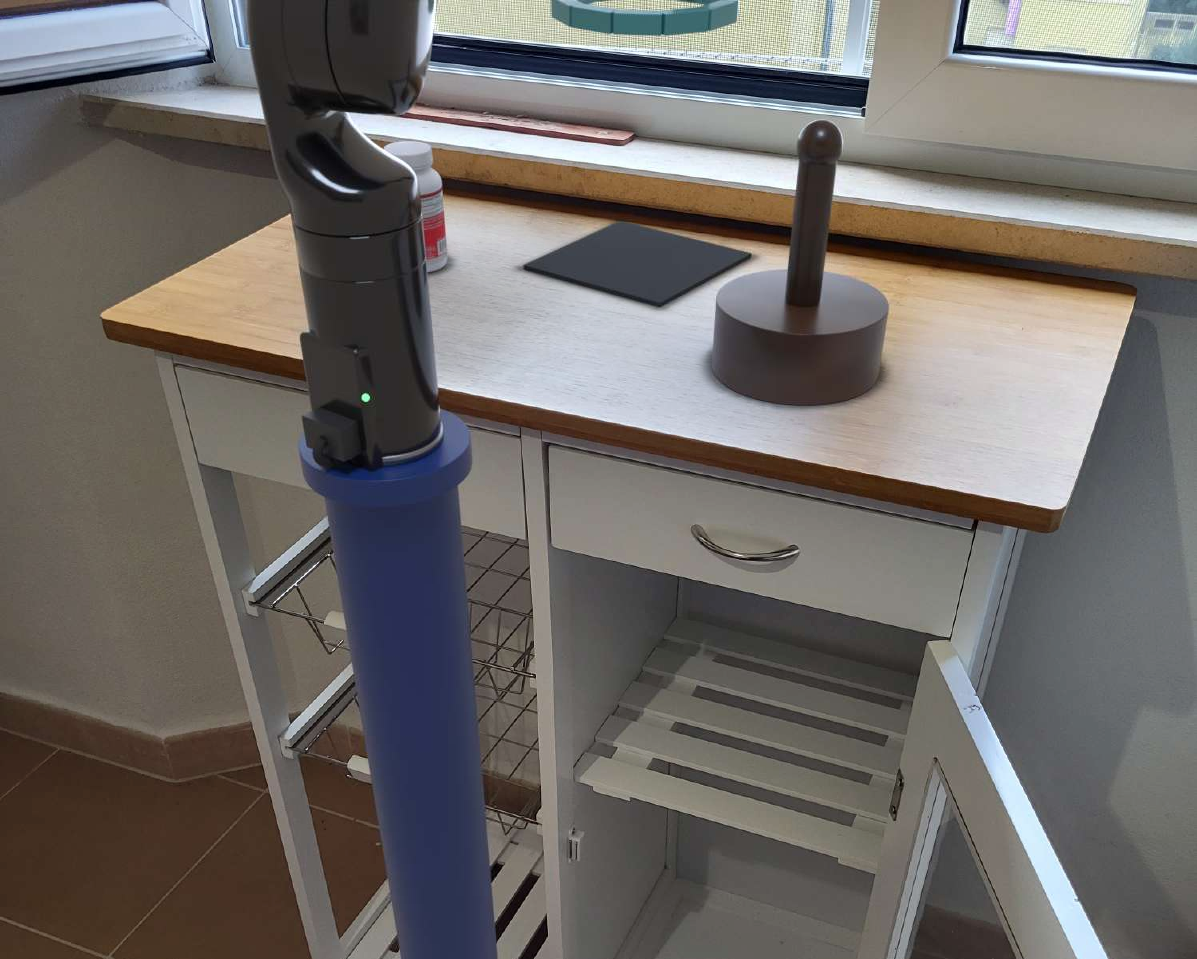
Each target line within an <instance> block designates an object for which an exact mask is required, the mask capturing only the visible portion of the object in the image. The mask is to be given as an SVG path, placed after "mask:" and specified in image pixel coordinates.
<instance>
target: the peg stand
mask: <svg viewBox="0 0 1197 959" xmlns="http://www.w3.org/2000/svg"><path fill="white" fill-rule="evenodd" d="M843 148H844V137H843V134H842V132H841V130H840V128H839V126H838V125H837V124H835V123H834V122H833V121H831V120H828V119H825V118H824V119H820V118H819V119H816V120H813V121H811V122H809V123H807V124H806V125H805V126H804V127H803V128H802V130H801V131H800V133H799V135H798V137H797V141H796V155H797V157H798V163H797V164H798V165H797V174H796V186H795V192H794V194H795V195H794V204H793V212H792V222H791V223H792V224H791V234H790V244H789V251H788V252H789V253H788V262H787V269H784V268H783V269H770V270H763V271H757V272H752V273H748V274H744V275H741V276H738V277H735V278H734V279H731V280H729V281H728V282H726V283H724V284H723V285H722V286H721V287H720V288H719V290H718V291H717V293H716V297H715V310H714V325H713V340H712V354H711V355H712V356H711V369H712V372H713V375H714V376H715V378H716V379H717V380H718V381H719V382H720V383H721V384H723V385H724V386H725V387H727V388H728V389H730V390H732V391H734V392H736V393H738V394H741V395H743V396H746V397H748V398H752V399H756V400H759V401H764V402H768V403H774V404H780V405H781V404H782V405H791V406H792V405H793V406H815V405H816V406H818V405H829V404H834V403H840V402H844V401H848V400H851V399H854V398H857V397H859V396H861V395H863V394H865V393H866V392H868V391H869V390H870V389H872V388H873V387H874V386H875V384H876V383H877V381H878V378H879V374H880V368H881V363H882V362H881V361H882V355H883V349H884V343H885V337H886V330H887V324H888V318H889V312H890V303H889V300H888V298H887V296H886V295H885V294H884V293H883V292H882V291H881V290H879V289H877V288H876V287H875V286H873V285H871V284H869V283H867V282H864V281H862V280H860V279H857V278H854V277H852V276H848V275H844V274H839V273H834V272H830V271H825V265H826V256H827V248H828V239H829V231H830V223H831V215H832V207H833V199H834V190H835V183H836V176H837V167H838V161H839V159H840V157H841V155H842V152H843Z"/></svg>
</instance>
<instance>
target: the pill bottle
mask: <svg viewBox="0 0 1197 959" xmlns="http://www.w3.org/2000/svg"><path fill="white" fill-rule="evenodd" d="M383 149H384V150H385V151H387V152H388V153H390V154H392V155H394V156H395V157H397V158H399V159H401V160H402V161H404V162H405V163H406V164H408V165H409V166H410V167H411V168H412V169H413V171H414V172H415V174H416V176H417V179H418V182H419V187H420V195H421V207H422V218H423V229H424V240H425V251H426V264H427V273H431V272H436V271H438V270H441V269H442V268H443V267H444V266H445V265H446V264H447V262H448V244H447V231H446V230H447V229H446V218H445V205H444V194H443V181H442V177H441V175H440V173H438V172H437V171H436V170H435V169H434V168H432V165H433V161H434V158H433V157H434V156H433V150H432V149H433V148H432V146H431V145H430V144H429V143H426V142H422V141H415V140H403V141H402V140H401V141H395V142H391V143H387V145H386V144H385V146H384V147H383Z"/></svg>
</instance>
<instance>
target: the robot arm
mask: <svg viewBox="0 0 1197 959" xmlns="http://www.w3.org/2000/svg"><path fill="white" fill-rule="evenodd" d="M436 1H437V0H245V5H246V6H245V13H246V17H245V18H246V30H247V38H248V45H249V53H250V59H251V64H252V68H253V74H254V78H255V83H256V87H257V91H258V94H259V101H260V105H261V109H262V114H263V120H264V124H265V129H266V133H267V137H268V142H269V148H270V152H271V158H272V163H273V167H274V171H275V175H276V177H277V180H278V182H279V184H280V186H281V188H282V191H283V193H284V195H285V198H286V199H287V202H288V208H289V212H290V218H291V224H292V231H293V238H294V244H295V249H296V250H295V251H296V256H297V262H298V263H297V264H298V269H299V276H300V281H301V289H302V295H303V299H304V300H303V301H304V307H305V314H306V320H307V326H308V329H306V330H303V331H301V333H300V334H299V344H300V349H301V355H302V361H303V367H304V375H305V380H306V385H307V391H308V398H309V404H310V411H308V412H306V413H304V414H302V415H301V422H302V428H303V433H304V434H305V440H306V445H307V447H308V448H311V449H313V452H312V454H313V459H314V461H315V462H316V463H317V464H319V465H320V466H322V467H325V468H328V469H331V468H333V467H334V464H335V463H334V461H333V460H332V459H330V458H328V457H325V456H323V454H326V455H328V456H331V457H333V458H336V459H338V460H341V461H343V462H347V463H350V464H353V465H355V466H357V467H360V468H362V469H365V470H367V471H370V472H374V471H376V470H378V469H380V468H383V467H387V466H395V465H401V464H406V463H410V462H413V461H416V460H419V459H422V458H424V457H426V456H428V455H430V454H431V453H433V452H434V451H435V450H436V449H437V448H438V447H439V446H440V445H441V443H442V441H443V438H444V437H443V425H442V422H441V416H440V409H441V407H440V405H441V404H440V396H439V387H438V386H439V385H438V375H437V373H438V372H437V364H436V352H435V351H436V350H435V341H434V340H435V339H434V331H433V330H434V329H433V320H432V309H431V298H430V288H429V287H430V286H429V277H428V275H429V274H428V272H427V264H426V251H425V240H424V229H423V218H422V207H421V195H420V187H419V182H418V179H417V176H416V174H415V172H414V171H413V169H412V168H411V167H410V166H409V165H408V164H406V163H405V162H404V161H402V160H401V159H399V158H397V157H395V156H394V155H392V154H390V153H388V152H387V151H385V150H384V148H382V147H380V146H379V145H378V144H376V143H375V142H374V141H372V139H370V138H369V137H368V136H367V135H366V134H365V133H364V132H363V131H362V130H361V129H360V128H359V127H358V126H357V125H356V124H355V122H354V121H353V119H352V116H351V115H350V114H358V115H359V114H361V115H371V116H384V117H387V116H388V117H396V116H401V115H405V114H407V112H409V111H410V110H411V109H413V107H414V106H415V105H416V103H417V102H418V100H419V98H420V97H421V94H422V91H423V89H424V86H425V83H426V81H427V80H426V79H427V75H428V71H429V67H430V63H431V62H430V61H431V57H432V49H433V42H434V41H433V39H434V33H435V32H434V31H435V30H434V28H435V16H436V3H437V2H436Z"/></svg>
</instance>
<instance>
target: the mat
mask: <svg viewBox="0 0 1197 959" xmlns="http://www.w3.org/2000/svg"><path fill="white" fill-rule="evenodd" d="M752 255H753V253H752V252H749V251H744V250H740V249H737V248H732V247H728V246H724V245H720V244H716V243H712V242H708V241H704V240H700V239H695V238H693V237H687V236H683V235H679V234H675V233H671V232H667V231H664V230H659V229H656V228H651V227H647V226H643V225H639V224H635V223H631V222H627V221H623V220H618V221H617V222H615V223H611V224H610V225H608V226H606V227H604V228H601V229H599V230H597V231H595V232H592V233H590V234H588V235H586V236H584V237H581V238H579V239H577V240H575V241H573V242H570V243H568V244H566V245H564V246H562V247H560V248H558V249H556V250H553V251H551V252H549V253H546V254H544V255H543V256H540V257H538V258H535V259H534V260H531V261H529V262H527V263H525V264H523V266H522V267H523V270H527V271H530V272H533V273H537V274H541V275H544V276H548V277H552V278H555V279H559V280H562V281H566V282H569V283H573V284H576V285H580V286H584V287H587V288H591V289H594V290H598V291H602V292H605V293H609V294H612V295H614V296H615V295H616V296H619V297H622V298H625V299H626V298H627V299H630V300H634V301H637V302H639V303H640V302H641V303H644V304H648V305H652V306H654V307H658V308H660V307H662V306H664V305H666V304H668V303H670V302H672V301H673V300H676V299H677V298H679V297H681V296H682V295H685V294H687V293H688V292H690V291H691V290H694V289H696V288H697V287H699V286H701V285H703V284H705V283H707V282H708V281H710V280H712V279H714V278H716V277H717V276H719V275H722V274H723V273H725V272H726V271H727V272H728V271H729V270H730V269H732V268H735V266H737V265H739V264H741V263H744V262H745V261H747V260H749V259H750V258H752Z"/></svg>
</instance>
